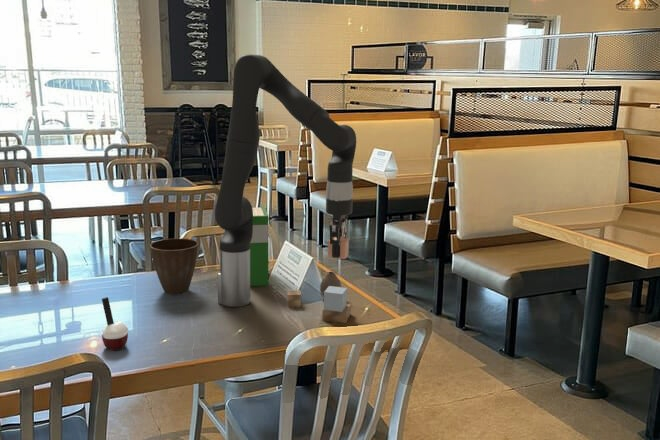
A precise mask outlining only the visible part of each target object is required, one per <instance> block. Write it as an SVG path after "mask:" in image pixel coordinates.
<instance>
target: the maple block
mask: <svg viewBox="0 0 660 440" xmlns="http://www.w3.org/2000/svg"><path fill="white" fill-rule="evenodd" d="M301 301H302V293H301V290H300V289H296V290H295V289H294V290H293V289H292V290H286V305H287V308H298V307H301V306H302V305H301V304H302V302H301Z"/></svg>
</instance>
